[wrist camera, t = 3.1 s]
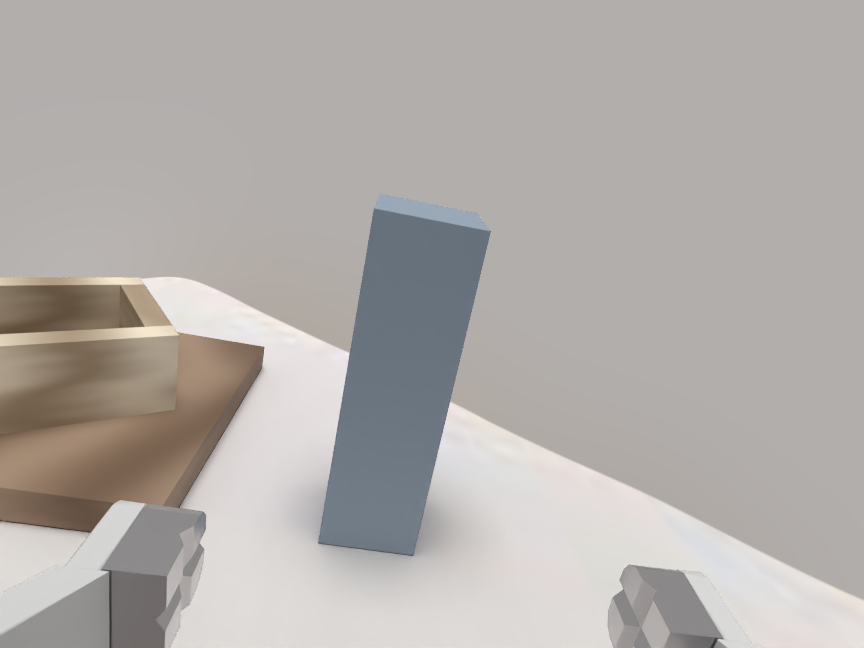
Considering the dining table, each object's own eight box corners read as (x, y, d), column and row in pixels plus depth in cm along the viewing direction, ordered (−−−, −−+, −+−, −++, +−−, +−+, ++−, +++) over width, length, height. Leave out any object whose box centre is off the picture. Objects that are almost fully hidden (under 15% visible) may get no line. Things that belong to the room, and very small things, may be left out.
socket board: (-306, 481, 20) (-347, 339, 18) (4, 325, 35) (-1, 240, 33) (159, 540, 21) (164, 417, 19) (261, 367, 36) (270, 288, 34)
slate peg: (318, 542, 23) (374, 208, 18) (330, 483, 27) (379, 193, 22) (412, 555, 23) (490, 231, 19) (412, 495, 27) (476, 213, 22)
